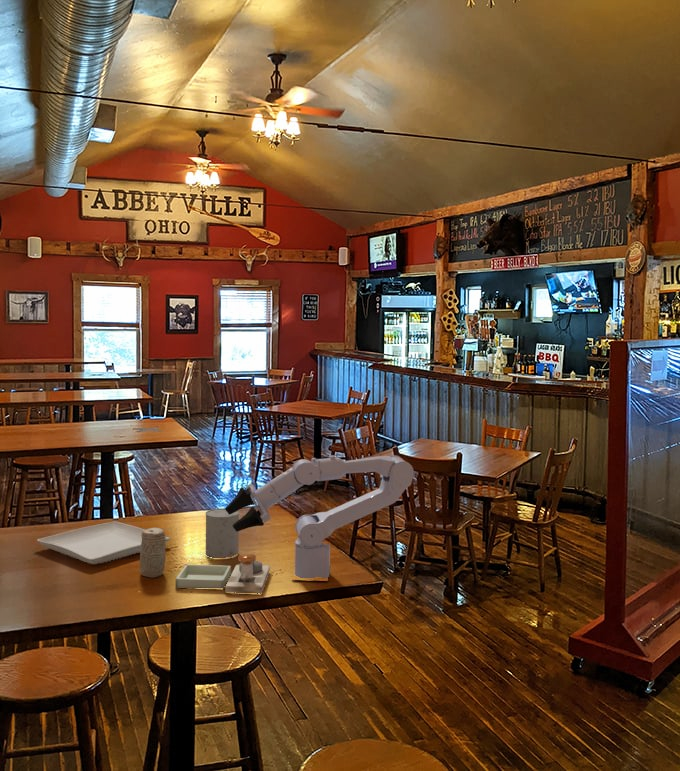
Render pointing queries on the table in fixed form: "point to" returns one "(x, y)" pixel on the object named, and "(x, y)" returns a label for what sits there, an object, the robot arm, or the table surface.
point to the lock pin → (247, 567)
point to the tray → (203, 576)
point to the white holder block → (244, 587)
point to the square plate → (97, 542)
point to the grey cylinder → (221, 533)
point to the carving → (152, 552)
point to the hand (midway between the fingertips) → (230, 520)
